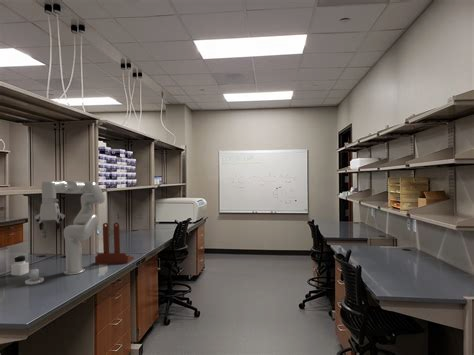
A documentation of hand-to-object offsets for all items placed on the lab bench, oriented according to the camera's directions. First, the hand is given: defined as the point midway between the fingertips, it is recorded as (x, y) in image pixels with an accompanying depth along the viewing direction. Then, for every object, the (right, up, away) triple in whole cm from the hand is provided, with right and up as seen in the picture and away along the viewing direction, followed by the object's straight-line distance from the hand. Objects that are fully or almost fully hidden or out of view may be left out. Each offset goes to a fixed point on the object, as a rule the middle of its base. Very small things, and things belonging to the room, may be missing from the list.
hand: (50, 229), depth 203 cm
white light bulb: (-10, -31, +1) cm, 33 cm away
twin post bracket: (+22, -32, +49) cm, 62 cm away
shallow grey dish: (-10, -33, +1) cm, 34 cm away
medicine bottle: (-32, -33, +21) cm, 50 cm away
